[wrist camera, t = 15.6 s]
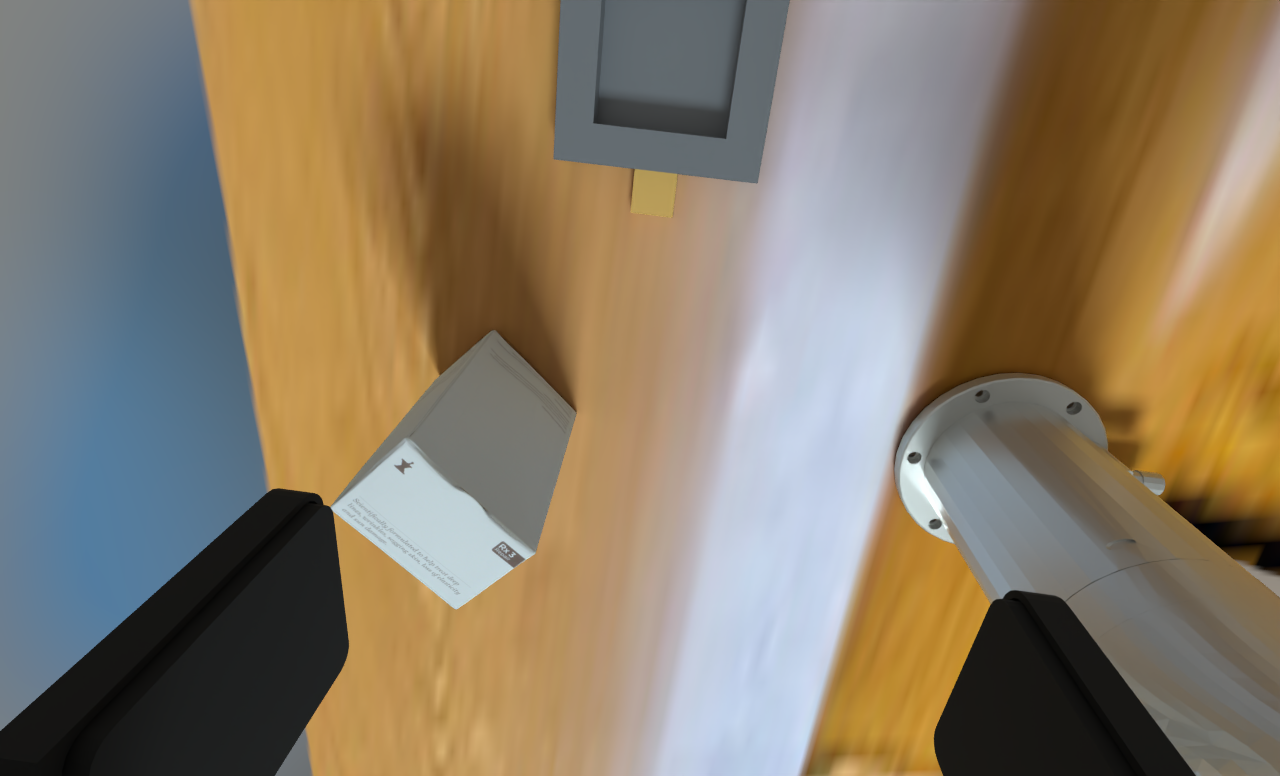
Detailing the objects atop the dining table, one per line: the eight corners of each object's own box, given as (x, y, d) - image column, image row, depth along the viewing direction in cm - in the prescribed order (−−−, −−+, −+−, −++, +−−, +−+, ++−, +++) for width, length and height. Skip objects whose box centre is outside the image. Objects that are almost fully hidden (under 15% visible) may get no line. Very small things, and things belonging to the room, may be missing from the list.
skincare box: (437, 377, 42) (313, 505, 28) (498, 322, 40) (397, 432, 26) (524, 462, 44) (448, 619, 30) (587, 415, 42) (535, 560, 28)
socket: (794, -55, 30) (801, -66, 29) (746, 224, 36) (749, 230, 34) (572, -79, 31) (564, -91, 29) (558, 202, 36) (551, 206, 35)
